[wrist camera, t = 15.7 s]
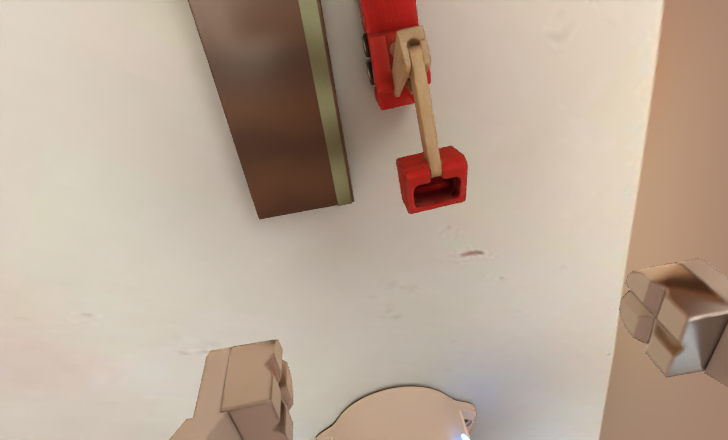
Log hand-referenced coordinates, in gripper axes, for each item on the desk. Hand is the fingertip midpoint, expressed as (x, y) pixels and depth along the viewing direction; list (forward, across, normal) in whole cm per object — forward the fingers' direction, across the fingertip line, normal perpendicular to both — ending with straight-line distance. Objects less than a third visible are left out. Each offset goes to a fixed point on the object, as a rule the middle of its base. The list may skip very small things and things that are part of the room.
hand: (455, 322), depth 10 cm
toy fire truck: (+22, -2, -1) cm, 22 cm away
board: (+22, +5, -1) cm, 23 cm away
